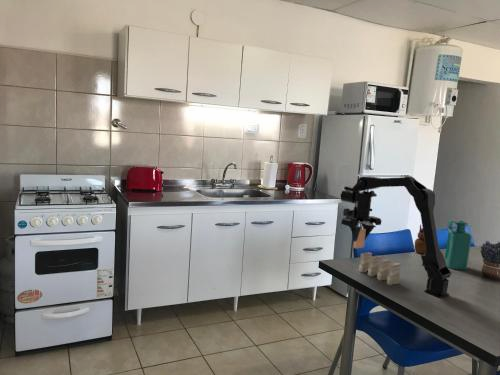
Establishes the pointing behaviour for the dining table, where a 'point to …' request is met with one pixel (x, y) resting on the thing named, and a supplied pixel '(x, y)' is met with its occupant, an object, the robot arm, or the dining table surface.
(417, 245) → the wooden figurine
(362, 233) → the domino
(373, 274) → the domino
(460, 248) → the teal tall bottle
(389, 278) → the domino
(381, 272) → the domino
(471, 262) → the dining table surface
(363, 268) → the domino
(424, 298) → the dining table surface
